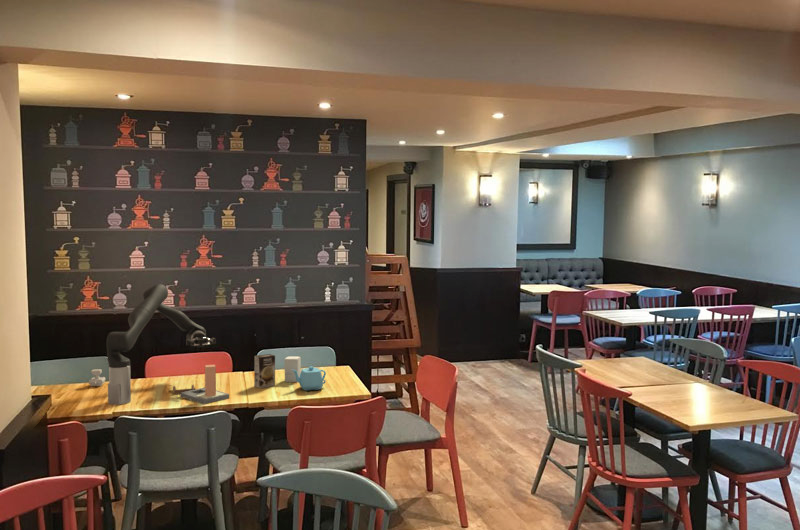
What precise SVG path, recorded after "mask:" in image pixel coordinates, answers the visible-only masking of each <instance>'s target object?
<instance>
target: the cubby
mask: <svg viewBox="0 0 800 530" xmlns="http://www.w3.org/2000/svg"><path fill="white" fill-rule="evenodd" d="M195 389H196V387H195V384H191V388H183V389H182V388H181V389H177V388H176V386H175V385H173V386H172V391H174V392H173V395H174V394H175V395H180V393H181V392H186V391H190V390H195Z"/></svg>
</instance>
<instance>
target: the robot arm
mask: <svg viewBox="0 0 800 530" xmlns="http://www.w3.org/2000/svg"><path fill="white" fill-rule="evenodd" d="M168 295H169V291H168V288H167V287H166V286H165V285H164V284H162V283H157V284H155V285H153V286H151V287H149V288H148V289H146V290H145V291H144V292H143V295H142V296H143V297H142V298H143V299H144V300H142V301H141V302H140V303H139V304H137V306H135V308H133V310H132V311H131V312H130V313H129V315H128V318H127V321H128V325H129V327H130V328H129V329H128V330H127V331H111V332H108V335H107V338H106V355H107V362H108V384H107V403H108V405H115V406H117V405H119V406H120V405H124V404H128V403H130V402H131V401H132V393H131V392H132V391H131V390H132V389H131V383H132V382H131V359H129V357H126V356H124V355H123V354H121V352H123V353H126V352H129V351H130V350H132V348H133V347H134V345H135V344H136V342H137V340H138V338H139V336H140V334H141V333H142V332H143V330H144V328H145V327H146V325H147V324H148V323H149V322H150V320H151V318H152V317H153V316H154V314H155V312H156V311H158V312H159V313H160V314H161V315H163V316H165V317H166V318H168V319H169V320H170V321H172V322H173V323H174V324H175V325H176V326H177V327H178V328H179V329H180V330H181V331H182V332H186V331H188V330H189V329H191V330H190V331H189V332H188V333H187V334H186V344H185V345H186V346H192V347H195V348H196V347H197V348H203V347H205V345H206V346H208V345H209V346H213V345H216V344H217V342H216V341H217V338H215V337H211V338H209V337H208V336H207V330H206V329H205V327H204V326H202V325H199V324H197V323H196V322H195V321H193V320H192V319H190V318H189V317H188V315H186V314H185V313H184V312H183V311H180V310H179V309H176V308H174V307H171V306H168V305H167V304H165V303H163V302H165V300H166V299H167V298H168Z"/></svg>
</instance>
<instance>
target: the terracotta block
mask: <svg viewBox="0 0 800 530" xmlns="http://www.w3.org/2000/svg"><path fill="white" fill-rule="evenodd" d="M216 366H217V365H216V364H206V365H204V387H205V395H206V396H215V395H216V390H217V374H216V373H217V367H216Z"/></svg>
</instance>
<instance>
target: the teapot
mask: <svg viewBox="0 0 800 530" xmlns="http://www.w3.org/2000/svg"><path fill="white" fill-rule="evenodd" d="M292 371H293V372H294V373H295V377H296V381H297V382H296V383H298V384H299V387H300V388H301V390H304V391H305V392H309V391H310V390H311V391H313V390H314V391H320V390H322V389H323V386H324V385H325V384H326V382H327V381H326V380H325V378H326V375H327V372H326V371H325V370H324V369H320V368H318V367H314V366H312V365H310V366H308V368H307V367H306V368H305V367H304V368H301V374H300V377H299V376H298V373H297V371H296V370H292ZM322 372H323V374H322ZM322 375H323V376H322Z"/></svg>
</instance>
